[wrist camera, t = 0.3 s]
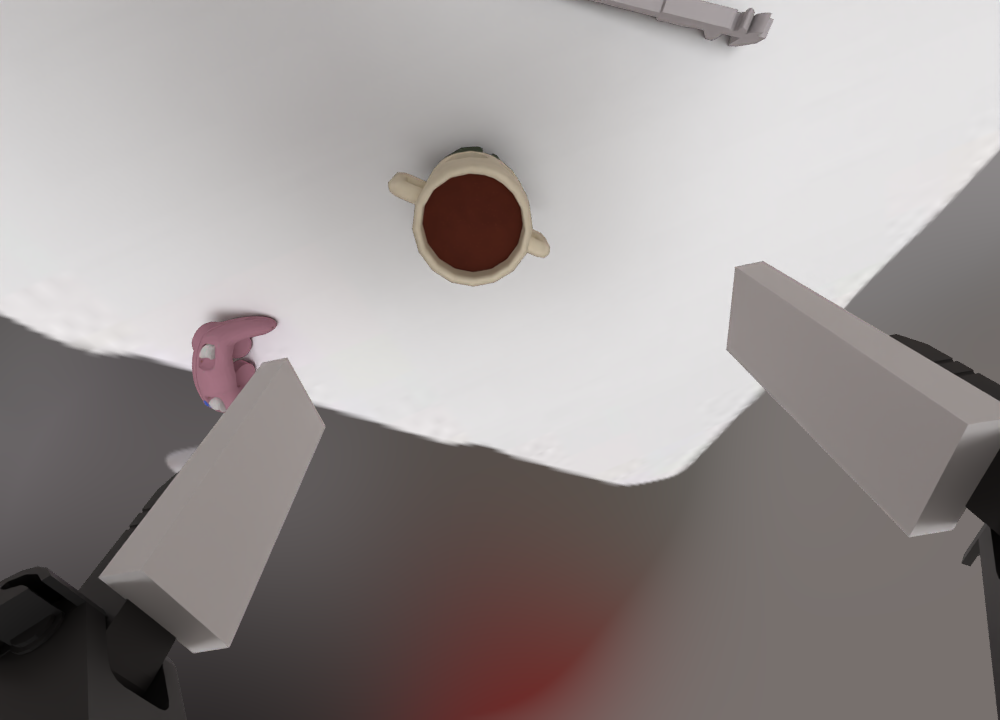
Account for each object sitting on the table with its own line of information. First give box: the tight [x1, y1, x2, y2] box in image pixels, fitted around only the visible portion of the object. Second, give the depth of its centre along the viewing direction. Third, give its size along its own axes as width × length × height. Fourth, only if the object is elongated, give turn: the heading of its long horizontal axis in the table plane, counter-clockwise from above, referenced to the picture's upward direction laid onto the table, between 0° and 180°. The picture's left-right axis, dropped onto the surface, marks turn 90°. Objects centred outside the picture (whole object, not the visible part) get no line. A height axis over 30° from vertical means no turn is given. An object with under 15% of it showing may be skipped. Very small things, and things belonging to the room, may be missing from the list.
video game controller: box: [192, 316, 277, 413], centre depth 41 cm, size 10×5×7 cm, turn 169°
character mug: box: [388, 147, 550, 286], centre depth 30 cm, size 11×7×13 cm, turn 66°
